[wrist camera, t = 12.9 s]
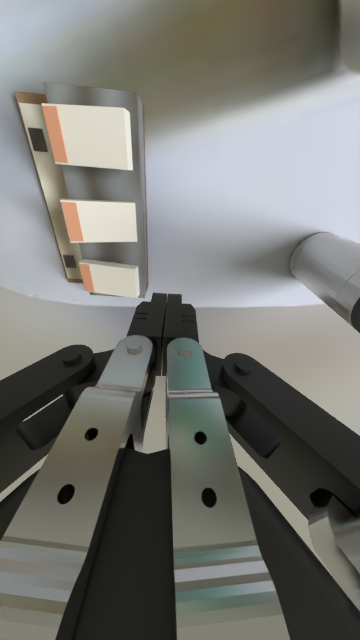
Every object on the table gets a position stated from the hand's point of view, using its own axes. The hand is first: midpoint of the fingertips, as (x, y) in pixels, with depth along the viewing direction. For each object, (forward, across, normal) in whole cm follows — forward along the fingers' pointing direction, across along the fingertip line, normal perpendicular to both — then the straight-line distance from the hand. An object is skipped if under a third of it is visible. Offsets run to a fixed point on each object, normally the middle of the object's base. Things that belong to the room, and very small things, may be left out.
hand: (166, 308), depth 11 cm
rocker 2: (+22, +11, 0) cm, 25 cm away
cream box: (+23, +10, +8) cm, 26 cm away
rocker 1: (+22, +10, -9) cm, 26 cm away
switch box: (+29, +13, 0) cm, 32 cm away
